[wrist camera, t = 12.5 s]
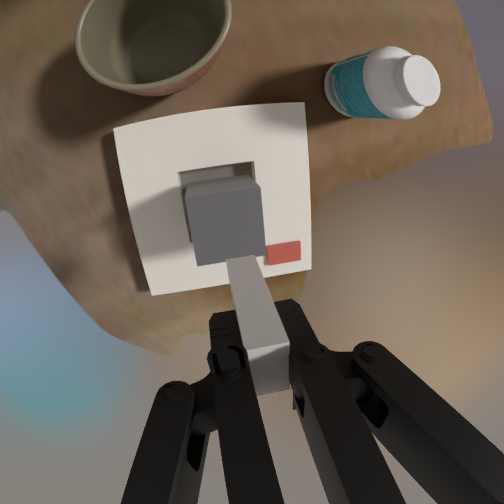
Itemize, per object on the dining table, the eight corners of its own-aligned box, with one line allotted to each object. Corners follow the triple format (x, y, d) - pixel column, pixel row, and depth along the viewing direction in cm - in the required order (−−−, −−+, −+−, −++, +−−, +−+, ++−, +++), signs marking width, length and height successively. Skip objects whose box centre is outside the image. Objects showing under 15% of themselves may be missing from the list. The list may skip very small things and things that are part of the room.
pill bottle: (354, 129, 32) (428, 140, 20) (309, 90, 29) (373, 76, 17) (383, 89, 30) (459, 86, 18) (342, 49, 27) (412, 25, 15)
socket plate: (119, 128, 27) (111, 128, 24) (297, 103, 29) (306, 101, 27) (154, 285, 36) (151, 297, 33) (304, 260, 38) (312, 270, 35)
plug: (189, 176, 31) (184, 198, 22) (242, 168, 31) (260, 187, 22) (197, 226, 33) (197, 266, 24) (248, 218, 34) (266, 255, 25)
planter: (187, -11, 21) (185, -59, 11) (242, 64, 27) (262, 37, 17) (94, 46, 22) (53, 20, 12) (145, 123, 28) (118, 123, 18)
